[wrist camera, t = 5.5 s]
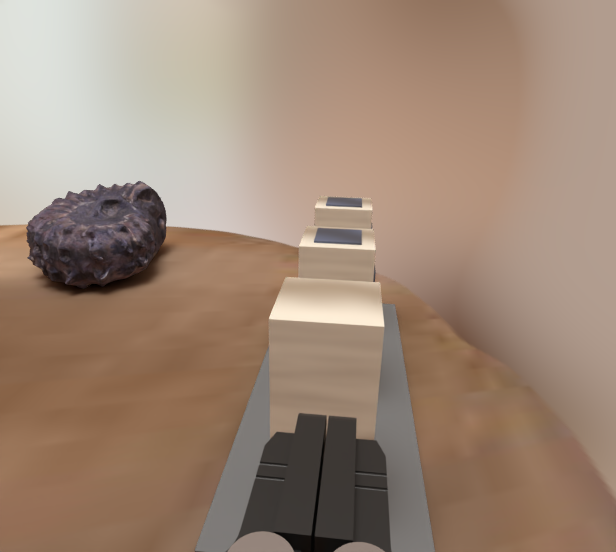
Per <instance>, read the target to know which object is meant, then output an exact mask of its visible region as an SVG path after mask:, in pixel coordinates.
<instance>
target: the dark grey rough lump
mask: <svg viewBox="0 0 616 552" xmlns="http://www.w3.org/2000/svg"><path fill="white" fill-rule="evenodd" d="M26 228H27V230H28V232H27V239H28V240H27V242H28V243H29V247H30V255H29V257H28V259H30V260H31V261H32V262H33V265H35V266H37V267H39V268H41V269H42V270H43V273H44V275H46V276H48V278H50V279H51V281H57V282H64V283H65V284H68V285H76V286H77V287H79V288H86V287H88V286H89V285H90V284H98V285H100V286H102V287H103V286H105V285H106V284H107V283H110V282H112V281H115V280H119V279H125V278H127V277H130V276H132V275H134V274H137V273H139V272H141V271H143V270H145V269H146V268H147V267H148V265H149V263H150V261H151V260H152V259H153V257H154V256H155V255H156V254H157V252H158V251H159V248H160V246H161V245H162V244H163V242H164V240H165V237H166V211H165V207H164V204H163V202H162V201H161V198H160V197H159V196H158V194H157V193H156V192H155V191H154V190H153V189H152V188H151V187H149V186H148V185H146V184H145V183H143V182H141V181H138V182H137V183H136V184H134V185H133V184H130V183H126V184H125V185H123V186H118V185H116V184H114V185H113V186H112V187H109V188H106V187H104V186H102V185H100V184H99V185H98V186H97V188H96V190H94V191H93V190H84V191H82V192H81V193H80V194H77V193H73V192H70V191H69V192H68V193H67V196H66V198H65V199H62V198H57V199H55V200H54V201H53V202H52V204H51V205H50V206H48V207H46V208H45V209H44V210H42V211H41V212H40V213H39V214H37V215H36V216H34V217H33V219H32V220H30V221H29V222H28V226H27V227H26Z"/></svg>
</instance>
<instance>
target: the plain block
mask: <svg viewBox="0 0 616 552" xmlns="http://www.w3.org/2000/svg"><path fill="white" fill-rule="evenodd" d="M383 337H384V317H383V308H382V298H381V288H380V282H364V281H347V280H329V279H312V278H295V277H286V278H285V280H284V283H283V285H282V288H281V290H280V293H279V295H278V297H277V300H276V302H275V305H274V307H273V310H272V312H271V315H270V317H269V379H270V439H271V438H272V437H273V435H274V434H275V433H276V432H287V433H294V432H295V428H296V423H297V418H298V414H299V413H306V414H318V415H327V426H328V418H329V416H341V417H353V418H357V423H356V439H365V440H374V436H375V425H376V414H377V403H378V392H379V381H380V370H381V359H382V348H383ZM326 435H327V429H326Z"/></svg>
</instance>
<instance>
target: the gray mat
mask: <svg viewBox="0 0 616 552" xmlns="http://www.w3.org/2000/svg"><path fill="white" fill-rule="evenodd" d="M382 308H383V317H384V337H383V348H382V359H381V370H380V381H379V392H378V403H377V414H376V425H375V436H374V440H377V442H378V444H379V445H380V447H381V449H382V451H383V452H384V454H385V456H386V468H387V486H388V504H389V522H390V539H391V551H392V552H435V549H434V543H433V537H432V531H431V524H430V518H429V512H428V506H427V500H426V494H425V487H424V481H423V475H422V469H421V463H420V457H419V450H418V444H417V438H416V432H415V426H414V419H413V413H412V407H411V401H410V395H409V389H408V382H407V376H406V370H405V364H404V358H403V352H402V345H401V339H400V333H399V327H398V321H397V315H396V308H395V304H382ZM269 440H270V379H269V347H268V349H267V352H266V355H265V358H264V360H263V363H262V366H261V369H260V371H259V374H258V377H257V380H256V382H255V385H254V388H253V391H252V393H251V396H250V399H249V402H248V405H247V407H246V410H245V413H244V416H243V418H242V421H241V424H240V427H239V429H238V432H237V435H236V438H235V440H234V443H233V446H232V449H231V451H230V454H229V457H228V460H227V463H226V465H225V468H224V471H223V474H222V476H221V479H220V482H219V485H218V487H217V490H216V493H215V496H214V498H213V501H212V504H211V507H210V510H209V512H208V515H207V518H206V521H205V523H204V526H203V529H202V532H201V534H200V537H199V540H198V543H197V545H196V548H195V552H226V551H227V550H228V549H229V548H230V547H231V546H232V544H233V543H234V542H235V540H236V538H237V537H238V534H239V532H240V529H241V525H242V522H243V519H244V515H245V512H246V508H247V505H248V501H249V498H250V494H251V491H252V487H253V484H254V481H255V479H256V474H257V470H258V467H259V465H260V460H261V456H262V453H263V449H264V446H265V444H266V443H267V442H268V441H269Z"/></svg>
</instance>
